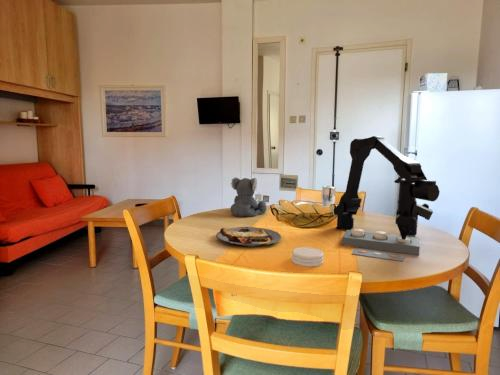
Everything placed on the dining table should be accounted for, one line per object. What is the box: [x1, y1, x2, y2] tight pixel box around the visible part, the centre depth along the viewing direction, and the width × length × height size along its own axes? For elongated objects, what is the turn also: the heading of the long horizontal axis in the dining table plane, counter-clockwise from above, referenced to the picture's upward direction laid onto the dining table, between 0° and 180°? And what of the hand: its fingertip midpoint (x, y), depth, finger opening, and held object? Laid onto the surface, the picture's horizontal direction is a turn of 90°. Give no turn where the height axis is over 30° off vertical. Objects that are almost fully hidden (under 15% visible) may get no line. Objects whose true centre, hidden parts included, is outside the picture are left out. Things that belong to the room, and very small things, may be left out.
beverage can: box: [407, 214, 419, 237], centre depth 143 cm, size 6×6×12 cm
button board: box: [341, 229, 421, 256], centre depth 129 cm, size 26×12×3 cm, turn 66°
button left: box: [351, 228, 365, 237], centre depth 132 cm, size 4×4×3 cm
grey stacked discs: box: [291, 246, 324, 268], centre depth 111 cm, size 10×10×4 cm
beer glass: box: [320, 185, 336, 206], centre depth 178 cm, size 7×7×15 cm
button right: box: [397, 237, 410, 243], centre depth 126 cm, size 4×4×3 cm
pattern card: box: [351, 247, 404, 262], centre depth 119 cm, size 16×7×1 cm, turn 66°
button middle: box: [373, 230, 388, 240], centre depth 129 cm, size 4×4×3 cm
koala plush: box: [229, 177, 267, 218], centre depth 179 cm, size 17×18×20 cm
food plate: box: [215, 226, 282, 248], centre depth 135 cm, size 25×23×4 cm
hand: (403, 239), depth 126 cm, fingers closed, pressing on button right
